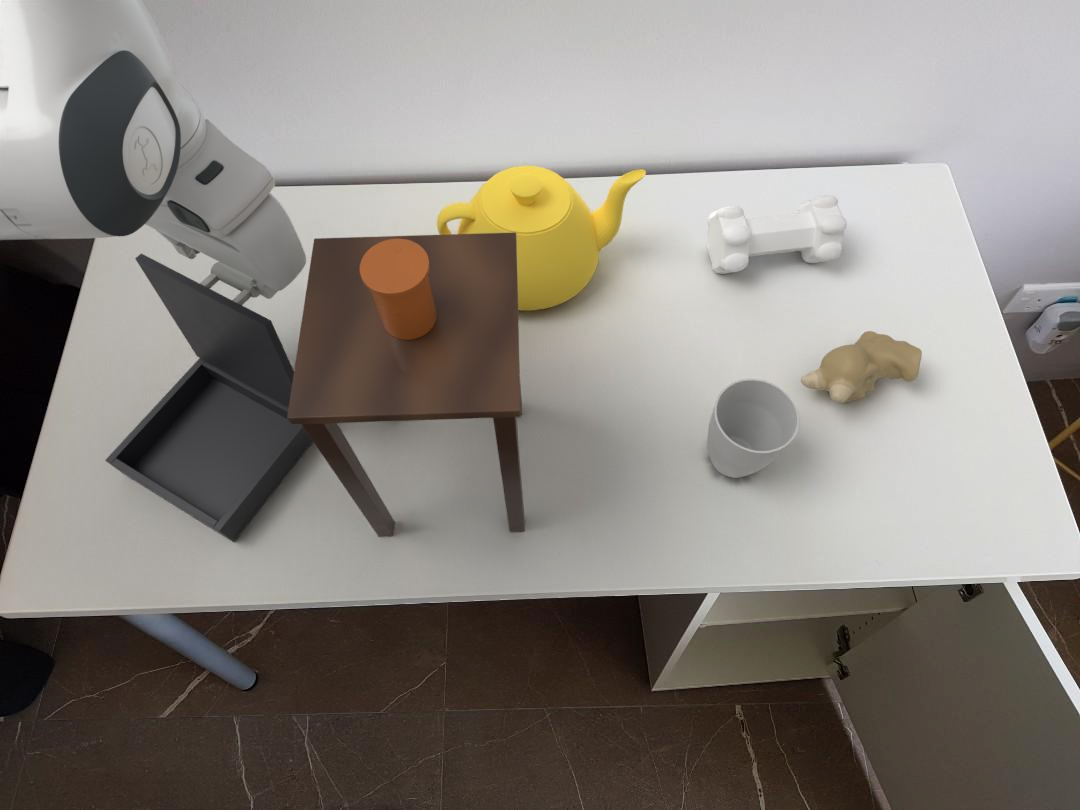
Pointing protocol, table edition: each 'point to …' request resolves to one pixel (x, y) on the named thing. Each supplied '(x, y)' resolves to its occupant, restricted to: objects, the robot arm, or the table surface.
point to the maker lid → (224, 326)
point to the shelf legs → (371, 503)
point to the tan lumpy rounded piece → (864, 366)
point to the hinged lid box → (213, 448)
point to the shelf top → (419, 364)
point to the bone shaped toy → (775, 234)
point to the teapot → (544, 228)
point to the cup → (750, 426)
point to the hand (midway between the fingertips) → (230, 271)
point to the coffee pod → (400, 287)
